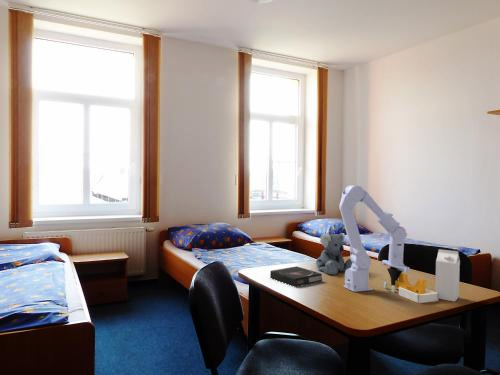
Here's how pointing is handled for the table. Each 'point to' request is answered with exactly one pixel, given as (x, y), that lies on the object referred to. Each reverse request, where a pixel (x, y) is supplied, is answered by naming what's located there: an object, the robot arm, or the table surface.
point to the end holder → (421, 298)
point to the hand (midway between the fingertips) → (394, 285)
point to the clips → (393, 288)
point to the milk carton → (447, 275)
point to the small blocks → (385, 285)
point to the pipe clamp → (405, 284)
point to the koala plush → (332, 254)
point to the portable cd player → (296, 276)
